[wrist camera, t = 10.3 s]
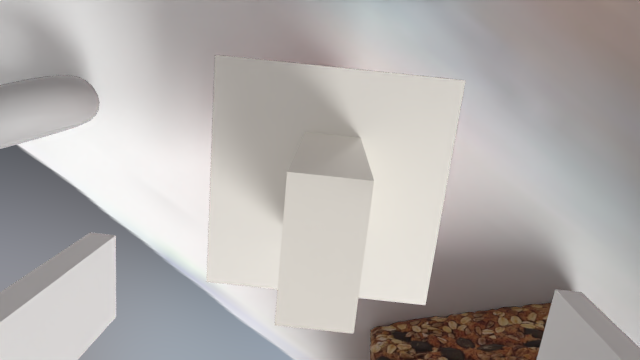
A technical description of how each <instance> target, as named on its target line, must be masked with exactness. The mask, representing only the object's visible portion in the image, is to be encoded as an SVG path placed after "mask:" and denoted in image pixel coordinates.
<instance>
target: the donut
mask: <svg viewBox="0 0 640 360" xmlns="http://www.w3.org/2000/svg"><path fill="white" fill-rule="evenodd" d="M99 103H100V102H99V98H98V94H97V93H96V91H95V89H94V88H93V86H92V85H91V84H89V83H88V82H87V81H86V80H84V79H82V78H80V77H75V76H68V75H58V76H47V77H40V78H34V79H27V80H22V81H17V82H12V83H7V84H3V85H0V149H1V148H5V147H9V146H12V145H16V144H20V143H24V142H27V141H31V140H34V139H38V138H41V137H45V136H48V135H52V134H55V133H58V132H61V131H65V130H68V129H71V128H74V127H77V126H79V125H82V124H84V123H86V122H88V121H90V120H91V119H92V118H93V117H95V115H96V114H97V112H98V110H99Z"/></svg>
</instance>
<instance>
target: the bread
mask: <svg viewBox="0 0 640 360" xmlns="http://www.w3.org/2000/svg"><path fill="white" fill-rule="evenodd" d="M550 307H551V303H547V304H530V305H525V306H523V307H521V308H520V307H503V308H500V309H497V310H494V309H491V310H489V311H477V312H475V313H473V312H467V313H463V314H452V315H449V316H448V317H447V318H441V317H437V316H435V317H430V318H423V319H414V320H410V321H405V322H397V323H393V324H392V325H390V326H384V327H382V326H378V327H375V328H374V329H372V330H371V333H370V336H371V344H370V359H371V360H536V359H537V356H538V352H539V348H540V344H541V341H542V337H543V333H544V330H545V326H546V322H547V318H548V315H549V311H550Z"/></svg>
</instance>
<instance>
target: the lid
mask: <svg viewBox="0 0 640 360" xmlns="http://www.w3.org/2000/svg"><path fill="white" fill-rule="evenodd" d="M464 87H465V80H458V79H448V78H439V77H429V76H419V75H409V74H400V73H390V72H380V71H370V70H360V69H351V68H341V67H331V66H321V65H312V64H302V63H292V62H282V61H272V60H263V59H253V58H243V57H233V56H224V55H215V64H214V91H213V118H212V145H211V173H210V200H209V227H208V255H207V282H212V283H222V284H231V285H240V286H250V287H259V288H269V289H277V302H276V314H275V325H276V326H285V327H295V328H304V329H313V330H323V331H332V332H341V333H350V334H354V328H355V320H356V313H357V305H358V298H362V299H372V300H381V301H390V302H400V303H409V304H418V305H426V300H427V294H428V288H429V283H430V277H431V272H432V266H433V260H434V255H435V249H436V244H437V238H438V232H439V227H440V221H441V216H442V210H443V204H444V199H445V193H446V188H447V182H448V176H449V171H450V165H451V160H452V154H453V148H454V143H455V137H456V131H457V126H458V120H459V115H460V109H461V103H462V98H463V92H464Z"/></svg>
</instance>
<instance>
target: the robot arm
mask: <svg viewBox="0 0 640 360" xmlns="http://www.w3.org/2000/svg"><path fill="white" fill-rule="evenodd" d="M115 318H116V236H115V235H108V234H99V233H91V232H90V233H89V234H87V235H86V236H84V237H83V238H81V239H80V240H78V241H77V242H75V243H74V244H72V245H71V246H70V247H68V248H66V249H65V250H63V251H62V252H60V253H59V254H57V255H56V256H54V257H53V258H51V259H50V260H48V261H47V262H45V263H44V264H42V265H41V266H39V267H38V268H36V269H35V270H33V271H32V272H30V273H29V274H27V275H26V276H25V277H23V278H21V279H20V280H18V281H17V282H15V283H14V284H12V285H11V286H9V287H8V288H7V289H5V290H3V291H2V292H0V360H78V359H79V357H80V356H81V355H82V354H83V353H84V352H85V351H86V350H87V349H88V348H89V346H90V345H91V344H92V343H93V342H94V341H95V340H96V339H97V338H98V337H99V335H100V334H101V333H102V332H103V331H104V330H105V329H106V328H107V326H108V325H109V324H110V323H111V322H112V321H113V320H114V319H115ZM536 360H640V348H639V347H638V346H637V345H636V344H635V343H634V342H633V341H632V340H631V339H630V338H629V337H628V336H627V335H626V334H625V333H623V332H622V331H621V330H620V329H619V328H618V327H617V326H616V325H615V324H614V323H613V322H612V321H611V320H610V319H609V318H608V317H607V316H606V315H605V314H604V313H603V312H601V311H600V310H599V309H598V308H597V307H596V306H595V305H594V304H593V303H592V302H591V301H590V300H589V299H588V298H587V297H586V296H585V295H584V294H583V293H582V292H574V291H566V290H558V289H555V292H554V296H553V300H552V303H551V307H550V311H549V315H548V318H547V322H546V326H545V330H544V333H543V337H542V341H541V344H540V348H539V352H538V356H537V359H536Z"/></svg>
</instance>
